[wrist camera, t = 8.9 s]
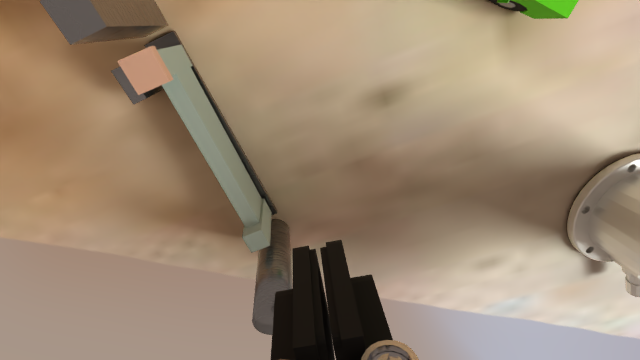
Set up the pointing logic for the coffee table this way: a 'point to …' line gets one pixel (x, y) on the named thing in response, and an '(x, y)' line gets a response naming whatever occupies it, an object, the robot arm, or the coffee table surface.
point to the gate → (203, 132)
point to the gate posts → (140, 21)
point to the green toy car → (539, 7)
